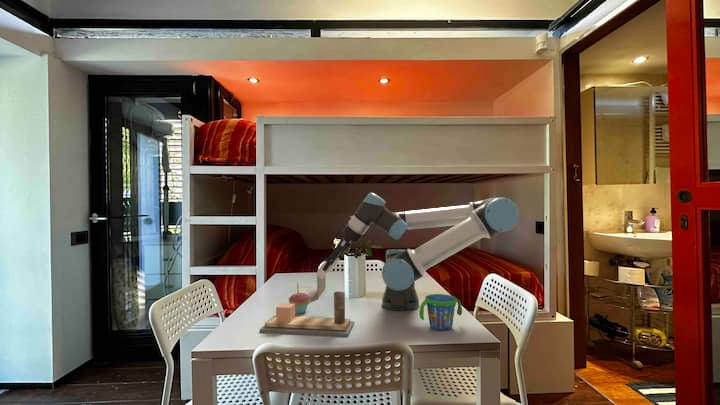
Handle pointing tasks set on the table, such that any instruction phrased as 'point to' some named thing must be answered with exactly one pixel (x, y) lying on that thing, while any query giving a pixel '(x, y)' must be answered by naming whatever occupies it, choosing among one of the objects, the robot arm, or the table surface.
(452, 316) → the snack cup
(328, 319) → the tan wooden stand
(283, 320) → the cube
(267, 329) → the lane board
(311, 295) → the laptop
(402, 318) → the table surface
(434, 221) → the robot arm
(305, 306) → the cupcake
